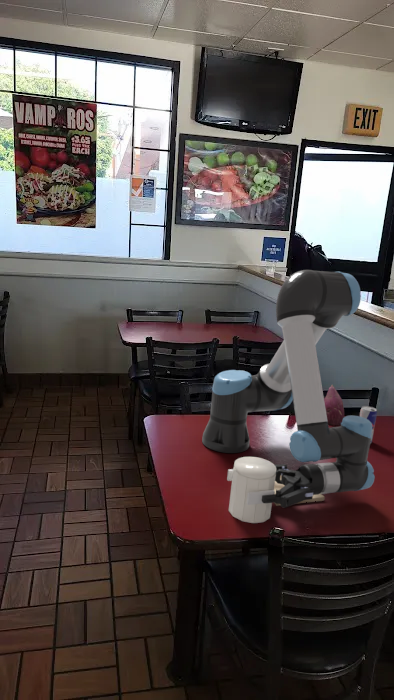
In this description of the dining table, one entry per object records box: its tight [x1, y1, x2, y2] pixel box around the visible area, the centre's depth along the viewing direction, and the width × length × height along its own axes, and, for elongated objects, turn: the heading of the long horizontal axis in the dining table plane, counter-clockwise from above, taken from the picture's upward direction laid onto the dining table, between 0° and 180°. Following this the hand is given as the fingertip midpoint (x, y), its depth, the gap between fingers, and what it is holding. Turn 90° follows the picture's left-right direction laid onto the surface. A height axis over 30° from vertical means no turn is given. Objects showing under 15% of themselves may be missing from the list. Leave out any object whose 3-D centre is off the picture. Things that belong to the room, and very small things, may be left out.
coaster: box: [274, 475, 326, 507], centre depth 134 cm, size 14×14×1 cm
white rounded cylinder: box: [228, 456, 276, 524], centre depth 120 cm, size 10×10×12 cm
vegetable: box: [324, 384, 345, 426], centre depth 191 cm, size 10×10×15 cm
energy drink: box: [359, 405, 378, 444], centre depth 172 cm, size 5×5×12 cm
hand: (237, 486), depth 119 cm, fingers open, 11 cm apart
